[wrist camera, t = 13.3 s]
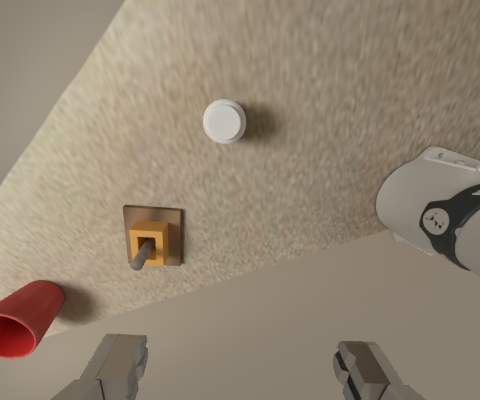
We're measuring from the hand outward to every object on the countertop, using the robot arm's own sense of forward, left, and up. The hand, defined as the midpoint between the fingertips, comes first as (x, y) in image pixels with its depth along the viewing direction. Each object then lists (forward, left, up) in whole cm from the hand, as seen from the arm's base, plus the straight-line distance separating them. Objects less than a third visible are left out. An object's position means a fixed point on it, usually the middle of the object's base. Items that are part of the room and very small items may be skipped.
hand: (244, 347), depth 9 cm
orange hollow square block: (+14, +14, -30) cm, 36 cm away
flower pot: (+37, +30, -31) cm, 57 cm away
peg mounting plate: (+14, +14, -31) cm, 37 cm away
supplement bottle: (+2, -8, -31) cm, 32 cm away
